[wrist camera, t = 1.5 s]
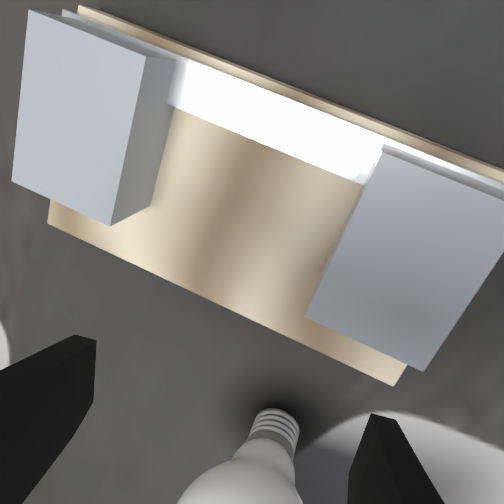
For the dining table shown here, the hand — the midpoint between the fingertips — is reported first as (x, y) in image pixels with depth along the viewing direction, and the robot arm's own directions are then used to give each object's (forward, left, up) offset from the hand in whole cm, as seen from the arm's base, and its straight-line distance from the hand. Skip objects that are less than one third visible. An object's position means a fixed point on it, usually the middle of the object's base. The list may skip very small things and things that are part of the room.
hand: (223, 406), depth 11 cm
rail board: (+3, -1, -12) cm, 12 cm away
